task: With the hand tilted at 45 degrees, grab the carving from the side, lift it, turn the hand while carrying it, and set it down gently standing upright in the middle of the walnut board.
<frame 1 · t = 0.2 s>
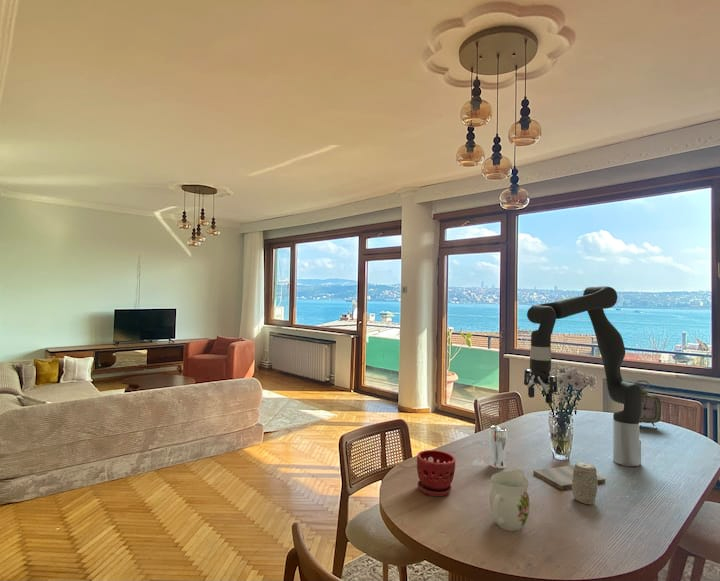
hand: (539, 400, 163), 28 cm above the table, tool pointing down, fingers open, 8 cm apart
walnut board: (568, 478, 160), on the table
plant pot: (435, 491, 148), on the table
tabletop clock: (641, 427, 229), on the table
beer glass: (497, 466, 171), on the table
pitcher: (507, 526, 125), on the table
carving: (584, 501, 142), on the table
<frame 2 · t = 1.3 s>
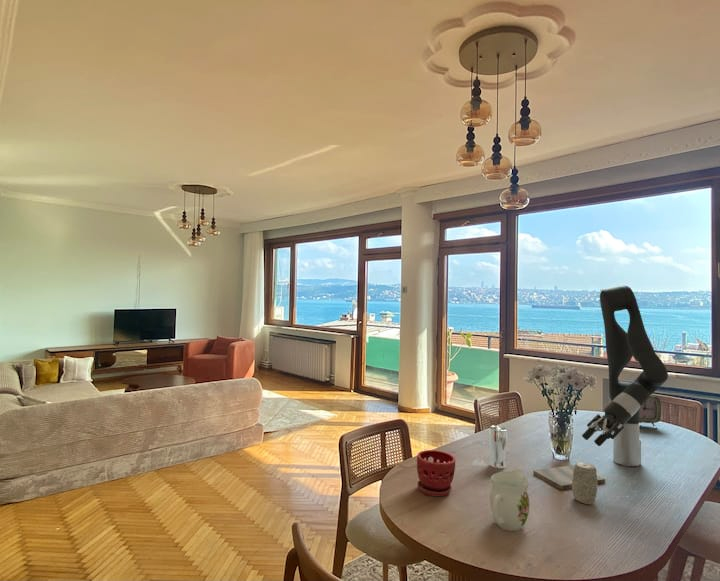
hand: (590, 441, 150), 17 cm above the table, tool tilted 45°, fingers open, 8 cm apart
nothing on the table moved.
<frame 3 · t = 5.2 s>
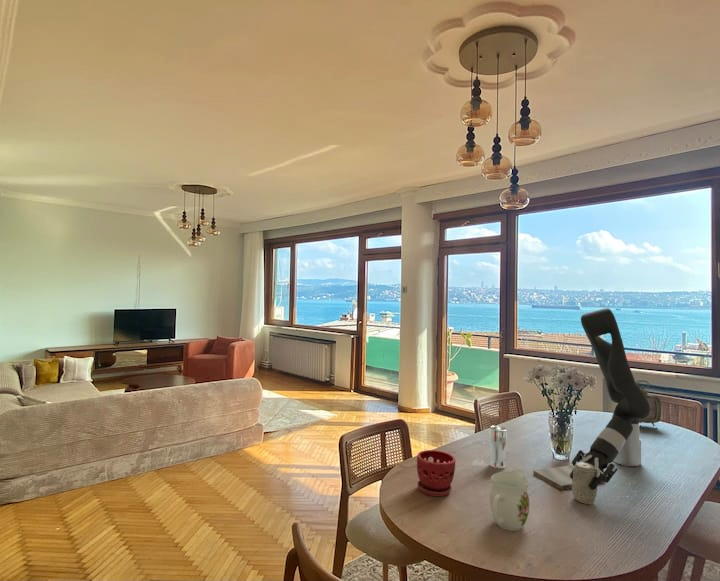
hand: (581, 483, 141), 6 cm above the table, tool tilted 45°, fingers closed on carving, 7 cm apart
carving: (584, 501, 142), on the table, touching gripper
everything else where it was.
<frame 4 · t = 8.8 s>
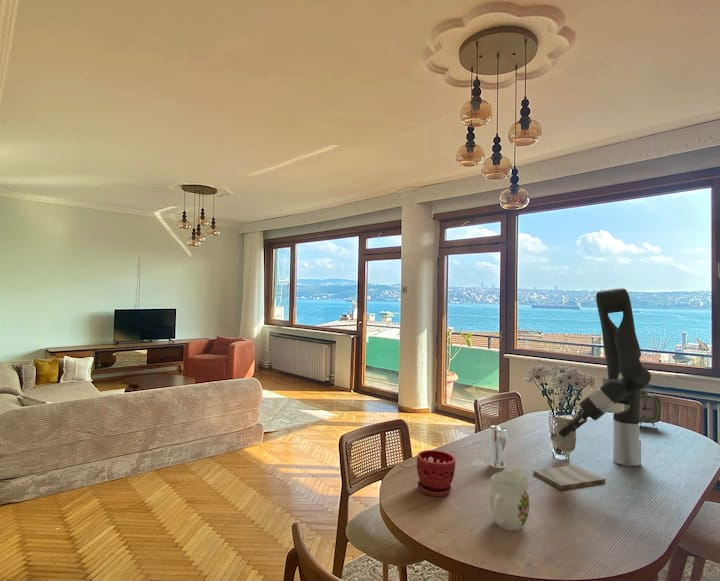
hand: (561, 432, 157), 18 cm above the table, tool tilted 45°, fingers closed on carving, 7 cm apart
carving: (566, 450, 156), point 12 cm above the table, touching gripper
everything else where it was.
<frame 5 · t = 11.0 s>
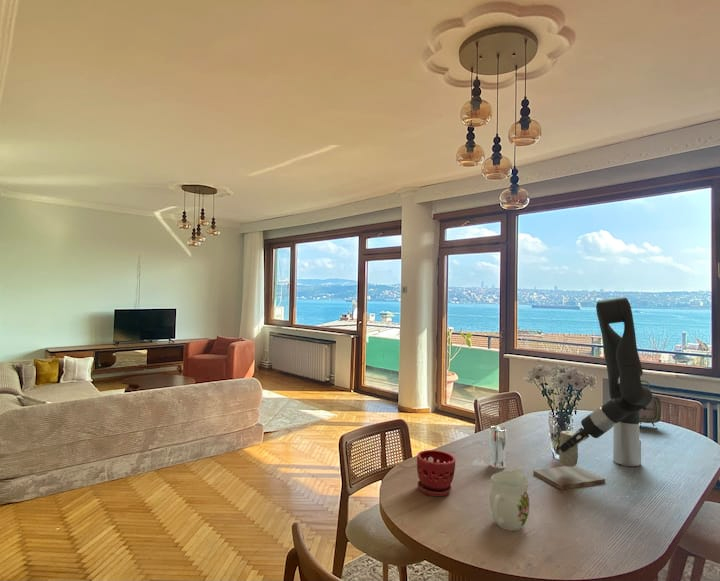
hand: (564, 447, 161), 11 cm above the table, tool tilted 45°, fingers closed on carving, 7 cm apart
carving: (568, 465, 160), point 5 cm above the table, touching gripper
everything else where it was.
when the fingers open (9 cm above the table, at t = 12.3 s): carving drops 1 cm, resting on walnut board.
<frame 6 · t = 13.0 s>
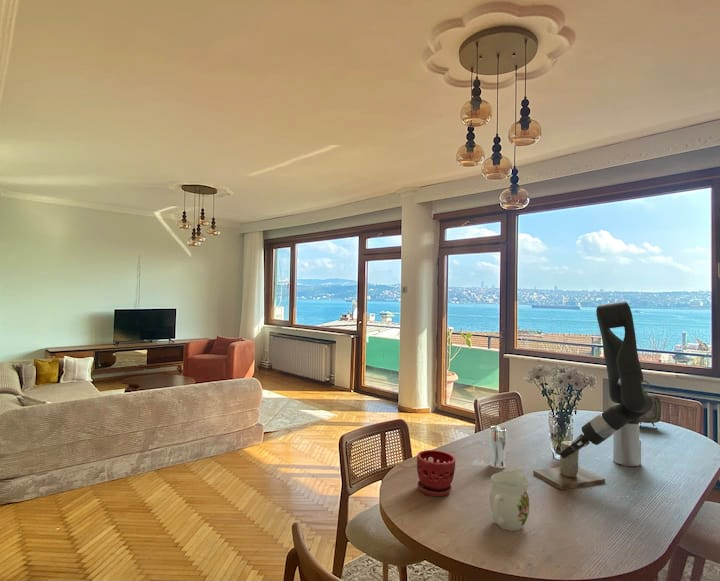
hand: (565, 453, 161), 9 cm above the table, tool tilted 45°, fingers open, 8 cm apart
carving: (568, 475, 159), point 1 cm above the table, touching walnut board
everything else where it was.
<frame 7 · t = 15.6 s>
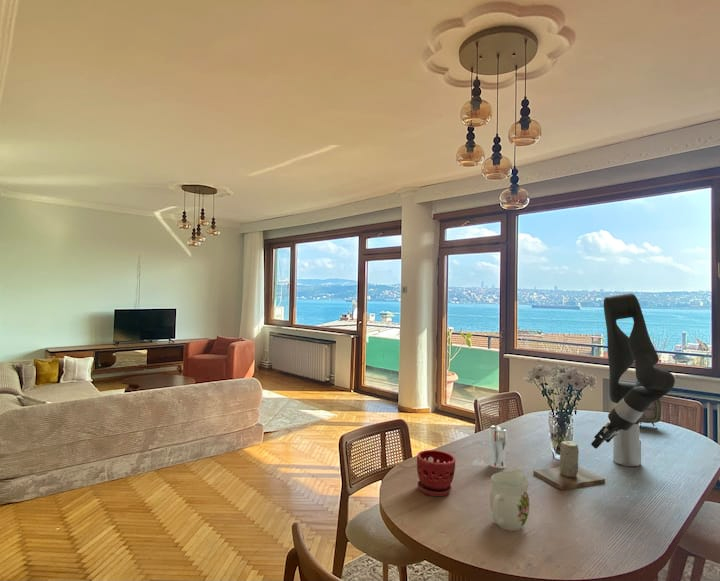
hand: (599, 443, 156), 15 cm above the table, tool tilted 35°, fingers open, 8 cm apart
nothing on the table moved.
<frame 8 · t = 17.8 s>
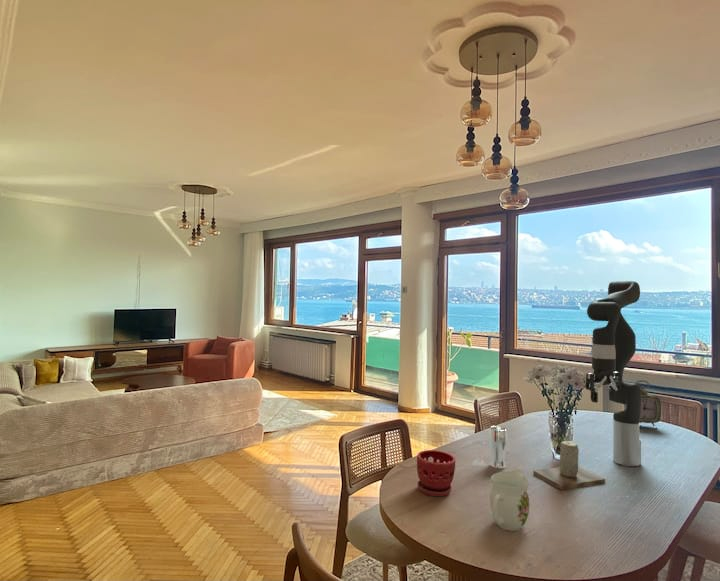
hand: (603, 401, 155), 30 cm above the table, tool pointing down, fingers open, 8 cm apart
nothing on the table moved.
at the end: carving inside the target area on the walnut board (0.2 cm from its centre), point 1.3 cm above the walnut board's base; carving tilted 0°; the gripper is holding nothing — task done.
